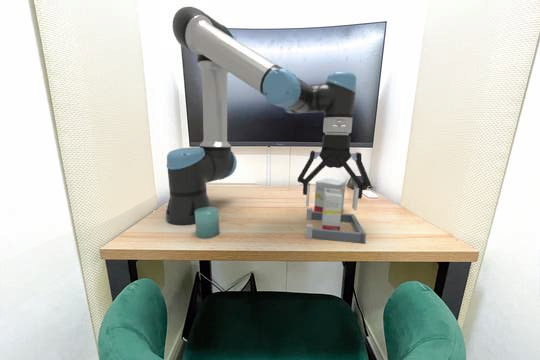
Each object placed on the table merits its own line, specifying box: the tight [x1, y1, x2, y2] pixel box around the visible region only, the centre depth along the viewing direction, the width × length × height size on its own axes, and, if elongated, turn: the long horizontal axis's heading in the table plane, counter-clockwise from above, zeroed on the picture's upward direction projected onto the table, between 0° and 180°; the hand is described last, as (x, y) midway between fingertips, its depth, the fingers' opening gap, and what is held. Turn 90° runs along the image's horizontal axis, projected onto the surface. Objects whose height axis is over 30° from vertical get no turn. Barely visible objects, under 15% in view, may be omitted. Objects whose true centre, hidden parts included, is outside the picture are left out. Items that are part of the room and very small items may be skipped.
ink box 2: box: [321, 188, 342, 231], centre depth 63 cm, size 9×5×12 cm, turn 167°
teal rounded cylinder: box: [194, 206, 220, 240], centre depth 60 cm, size 6×6×7 cm
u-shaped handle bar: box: [305, 207, 367, 244], centre depth 64 cm, size 15×15×4 cm
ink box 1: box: [313, 177, 346, 213], centre depth 78 cm, size 9×9×12 cm
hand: (330, 207), depth 63 cm, fingers open, 13 cm apart
